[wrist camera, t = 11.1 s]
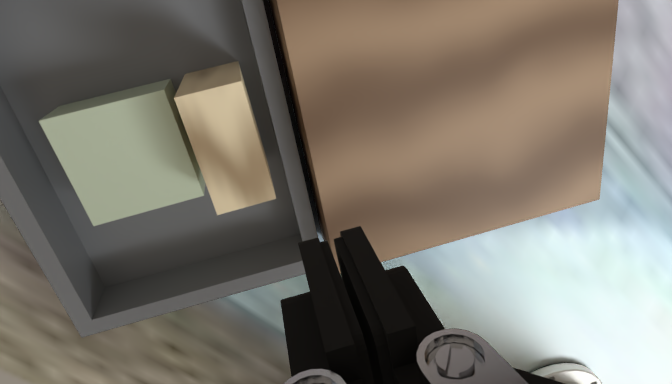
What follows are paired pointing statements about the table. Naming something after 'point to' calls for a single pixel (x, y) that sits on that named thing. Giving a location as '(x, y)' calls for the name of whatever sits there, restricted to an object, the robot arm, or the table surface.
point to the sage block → (125, 151)
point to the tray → (159, 224)
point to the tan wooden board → (446, 112)
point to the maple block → (225, 137)
